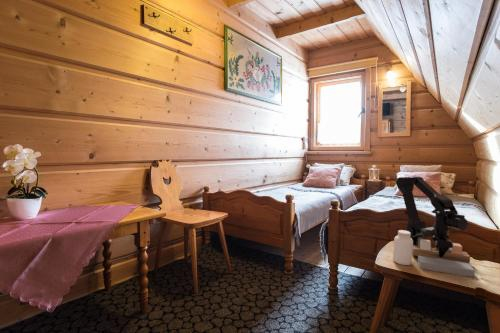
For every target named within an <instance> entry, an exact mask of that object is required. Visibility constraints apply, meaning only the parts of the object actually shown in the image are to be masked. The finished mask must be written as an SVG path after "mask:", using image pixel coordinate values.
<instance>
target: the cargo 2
mask: <svg viewBox="0 0 500 333" xmlns="http://www.w3.org/2000/svg"><path fill="white" fill-rule="evenodd" d="M452 243H453V248H449V249H448V250H449V251H450V252H451V254H459V255H462V252H463V246H462V245H461V243H457V242H452Z"/></svg>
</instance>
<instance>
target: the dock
mask: <svg viewBox="0 0 500 333" xmlns="http://www.w3.org/2000/svg"><path fill="white" fill-rule="evenodd" d="M417 263H418V266H419V269H420V270H421V269H422V270H427V271H429V270H430V271H433V272H439V273H440V272H441V273H445V274H453V275H459V276H465V277H471V278H472V277H473V278H474V277H475V269H474V268H473V267H472V265H471V263H470V264H469V263H465V262H458V261H452V260H445V259H438V258H431V257H424V256H417Z"/></svg>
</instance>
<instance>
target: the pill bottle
mask: <svg viewBox="0 0 500 333" xmlns="http://www.w3.org/2000/svg"><path fill="white" fill-rule="evenodd" d="M405 230H406V229H404V230H403V229H399V230H398V231H397V235H396V236H395V237H394V240H393V251H392V260H393V262H394V263H396V264H397V265H398V264H399V265H403V266H410V265H412V263H413V262H412V261H413V253H412V250H413V240H412V238H410V236H411V233H410V232H409V231H405Z"/></svg>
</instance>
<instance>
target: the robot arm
mask: <svg viewBox="0 0 500 333" xmlns="http://www.w3.org/2000/svg"><path fill="white" fill-rule="evenodd" d="M395 184H396V186H397V189H398V191H399V192H400V193H401V194H402V197H403V202H404V205H405V208H406V210H405V211H406V213H407V218H408V220H407V223H406V224H407V225H406V227H407V228H406V229H404V230H405V231H409V232H410V233H411V236H410V238H412V240H413V245H416V246H420V238H425V239H426V238H428V237H431V239H432V240H433V241H434V244H435V248H438V250H439V257H443V256H444V254H445V253H446V251H447V250H449V248H453V243H454V242H452V241H451V240H450V236H449V231H451V228H453V229H456V230H458V231H465V230H466V229H467V228H468V225H469V224H468V223H469V222H468V220H467V219H466V216H465V215H464V214H459V212H458V210H457V208H456V207H455V205H454V201H453V199H451V198H449V197H448V196H447V195H444V194H442V193H439V192H438V191H437V190H436V189H434V188H433V187H432V186H431V185H430V184H429V183H428V182H427V181H425V180H424V177H421V176H412V177H410V176H402V177H401V176H400V177H398V178H397V179H396V181H395ZM415 187H416V188H417V189H419V191H420V192H422V194H424V195H425V196H426V197H427V198H428V199H429V200H430V204H431V206H432V207H433V208H434V209H433V210H432V211H431V213H432V214H435V215H434V224H432V226H431V227H427V226H426V222H425V220H421V218H420V216H419V213H418V210H417V204H416V201H415V197H414V193H413V191H414V188H415Z"/></svg>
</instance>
